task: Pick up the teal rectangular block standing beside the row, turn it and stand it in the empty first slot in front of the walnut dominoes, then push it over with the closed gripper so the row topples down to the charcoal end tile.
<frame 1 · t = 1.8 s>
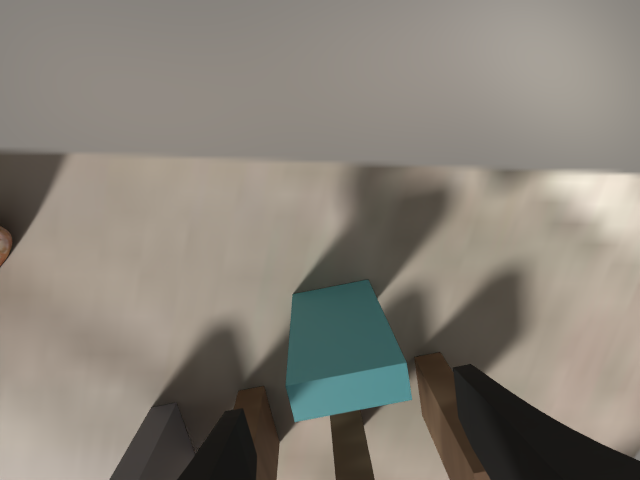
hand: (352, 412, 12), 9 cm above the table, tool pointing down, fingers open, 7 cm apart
domino 4: (259, 417, 23), on the table
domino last: (174, 433, 23), on the table
teal rectangular block: (332, 299, 21), on the table
domino 3: (345, 401, 23), on the table
domino 2: (430, 384, 23), on the table
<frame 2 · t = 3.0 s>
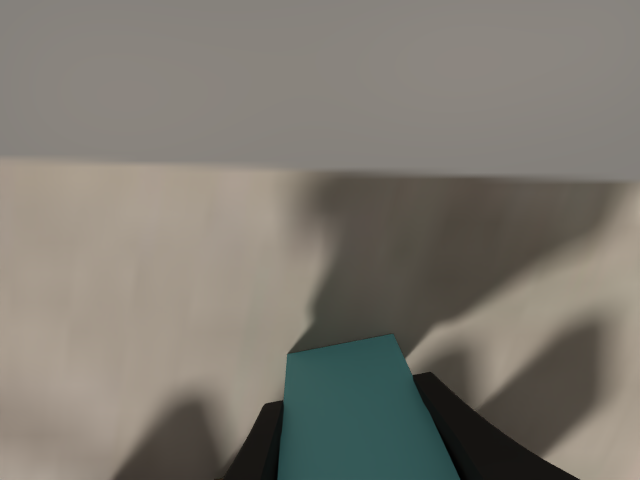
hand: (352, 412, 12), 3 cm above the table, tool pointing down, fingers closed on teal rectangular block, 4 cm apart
teal rectangular block: (343, 360, 15), on the table, touching gripper
when the fingers open (3 cm above the table, at t = 7.9 s): teal rectangular block stays where it is, on the table.
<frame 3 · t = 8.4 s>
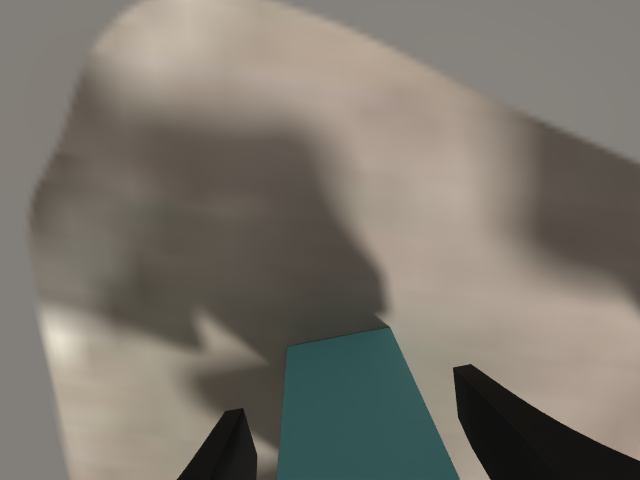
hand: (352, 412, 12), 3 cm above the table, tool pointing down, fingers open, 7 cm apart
teal rectangular block: (341, 353, 15), on the table
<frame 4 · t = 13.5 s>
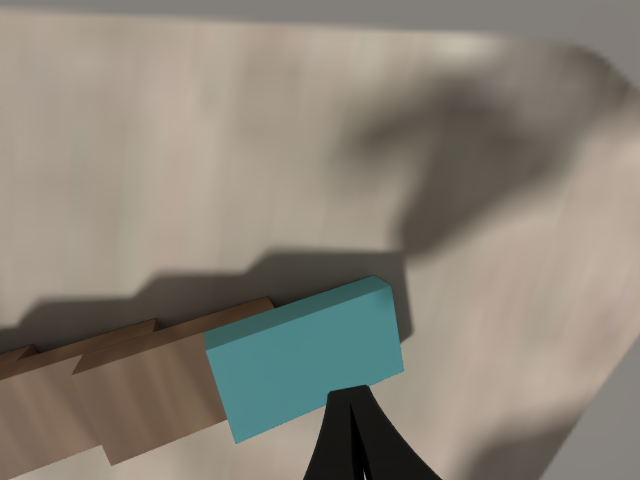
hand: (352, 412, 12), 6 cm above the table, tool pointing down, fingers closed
domino 4: (44, 391, 17), point 1 cm above the table, tilted 78°, touching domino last
teal rectangular block: (388, 322, 17), point 1 cm above the table, tilted 72°, touching domino 2
domino 3: (169, 365, 17), point 1 cm above the table, tilted 74°, touching domino 2
domino 2: (281, 343, 17), point 1 cm above the table, tilted 73°, touching domino 3, teal rectangular block
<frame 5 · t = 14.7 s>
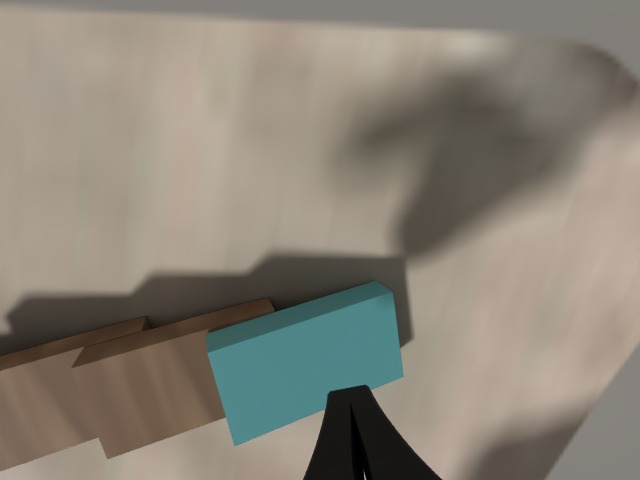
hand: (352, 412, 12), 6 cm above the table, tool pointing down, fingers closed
teal rectangular block: (389, 328, 17), point 1 cm above the table, tilted 72°, touching domino 2
domino 3: (157, 363, 17), point 1 cm above the table, tilted 74°, touching domino 2, domino 4
domino 2: (280, 344, 17), point 1 cm above the table, tilted 75°, touching domino 3, teal rectangular block
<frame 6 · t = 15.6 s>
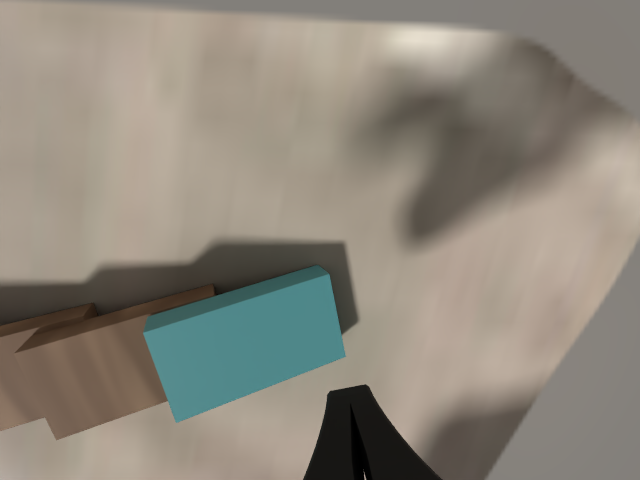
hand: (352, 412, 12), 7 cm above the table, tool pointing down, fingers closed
teal rectangular block: (331, 310, 18), point 1 cm above the table, tilted 73°, touching domino 2
domino 3: (103, 348, 18), point 1 cm above the table, tilted 76°, touching domino 2
domino 2: (225, 329, 18), point 1 cm above the table, tilted 75°, touching domino 3, teal rectangular block
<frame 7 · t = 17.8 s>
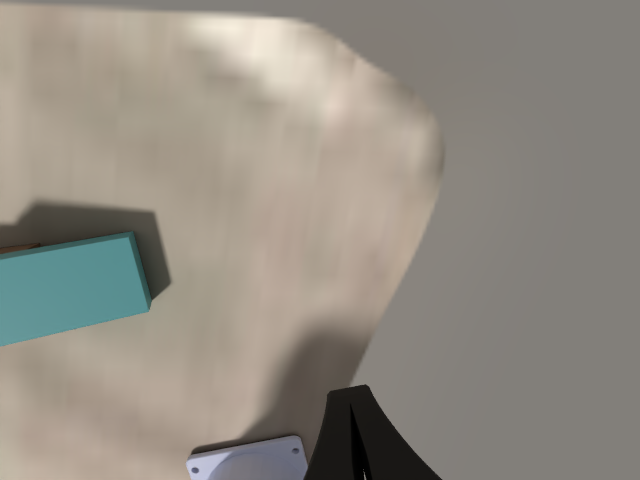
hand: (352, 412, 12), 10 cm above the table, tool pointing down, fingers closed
teal rectangular block: (140, 271, 20), point 1 cm above the table, tilted 73°, touching domino 2
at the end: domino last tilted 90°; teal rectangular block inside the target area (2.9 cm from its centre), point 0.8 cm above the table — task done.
